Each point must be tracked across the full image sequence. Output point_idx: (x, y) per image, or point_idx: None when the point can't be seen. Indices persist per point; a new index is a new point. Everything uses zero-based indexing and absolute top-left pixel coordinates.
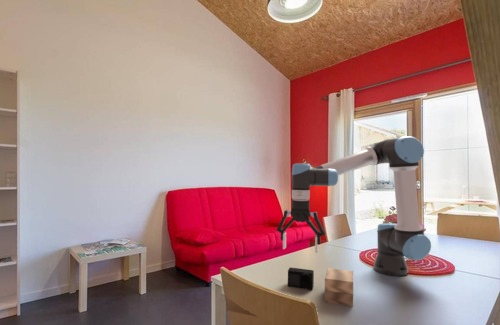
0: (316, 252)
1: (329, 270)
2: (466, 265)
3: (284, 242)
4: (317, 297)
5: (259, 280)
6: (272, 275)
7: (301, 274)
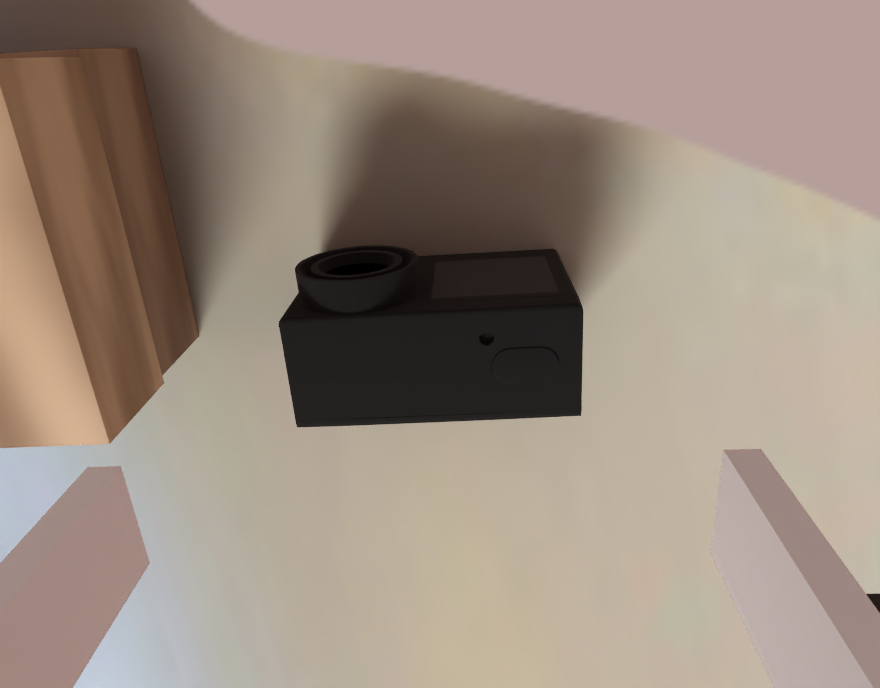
0: (95, 470)
1: (58, 373)
2: None
3: (784, 540)
4: (227, 122)
5: (873, 278)
6: (757, 441)
7: (410, 304)
